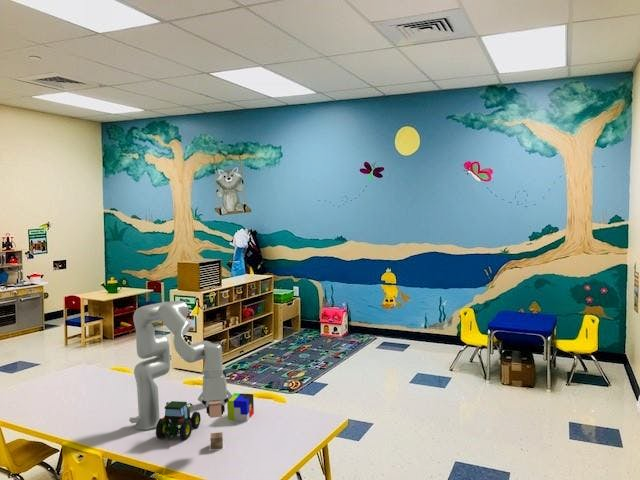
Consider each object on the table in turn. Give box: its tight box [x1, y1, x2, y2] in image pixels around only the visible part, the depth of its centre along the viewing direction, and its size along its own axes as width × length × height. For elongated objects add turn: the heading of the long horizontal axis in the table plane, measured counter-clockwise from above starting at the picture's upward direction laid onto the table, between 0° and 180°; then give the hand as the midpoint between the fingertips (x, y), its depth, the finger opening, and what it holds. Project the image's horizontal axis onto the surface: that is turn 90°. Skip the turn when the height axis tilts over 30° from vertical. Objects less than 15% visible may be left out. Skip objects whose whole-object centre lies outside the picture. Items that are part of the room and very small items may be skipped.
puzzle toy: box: [226, 392, 255, 422], centre depth 262 cm, size 10×10×10 cm
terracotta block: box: [209, 401, 223, 419], centre depth 228 cm, size 5×5×5 cm
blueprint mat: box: [208, 441, 226, 452], centre depth 229 cm, size 14×12×1 cm
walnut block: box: [209, 431, 224, 451], centre depth 229 cm, size 5×5×5 cm
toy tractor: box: [155, 400, 201, 441], centre depth 244 cm, size 14×22×15 cm, turn 170°
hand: (215, 413), depth 228 cm, fingers closed on terracotta block, 5 cm apart
